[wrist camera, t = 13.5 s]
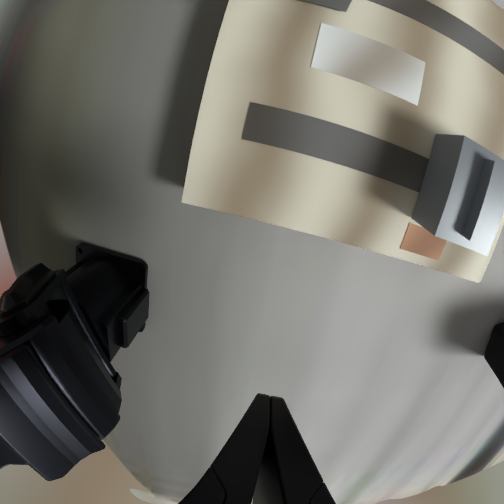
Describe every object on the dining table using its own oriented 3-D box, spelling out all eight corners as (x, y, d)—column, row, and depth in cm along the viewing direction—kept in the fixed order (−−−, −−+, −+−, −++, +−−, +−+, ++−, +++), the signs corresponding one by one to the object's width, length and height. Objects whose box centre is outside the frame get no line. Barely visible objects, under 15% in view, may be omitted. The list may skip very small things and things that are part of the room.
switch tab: (410, 218, 15) (442, 241, 11) (435, 133, 13) (474, 136, 9) (461, 237, 14) (495, 262, 11) (484, 160, 13) (525, 171, 9)
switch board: (196, 192, 19) (181, 202, 16) (264, -63, 11) (261, -86, 8) (460, 265, 18) (479, 283, 16) (508, 38, 11) (530, 32, 8)
